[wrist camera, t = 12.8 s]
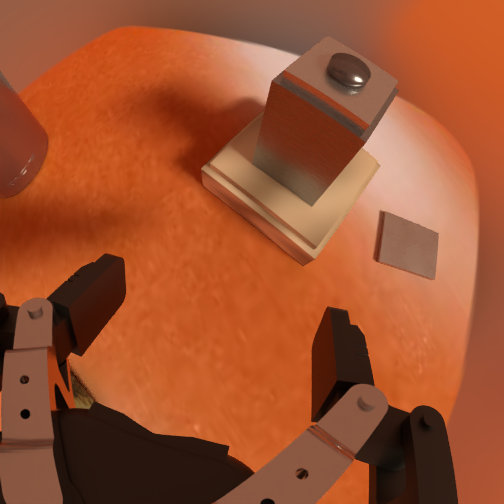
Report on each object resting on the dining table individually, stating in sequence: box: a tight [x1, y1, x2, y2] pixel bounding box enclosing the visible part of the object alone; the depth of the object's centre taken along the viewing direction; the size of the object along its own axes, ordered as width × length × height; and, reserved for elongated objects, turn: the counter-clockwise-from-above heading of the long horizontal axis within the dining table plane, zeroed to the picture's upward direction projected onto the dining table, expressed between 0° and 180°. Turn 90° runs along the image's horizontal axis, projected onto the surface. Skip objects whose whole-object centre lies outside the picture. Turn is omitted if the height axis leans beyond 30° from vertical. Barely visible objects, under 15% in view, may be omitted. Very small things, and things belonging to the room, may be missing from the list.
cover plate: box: [377, 211, 439, 280], centre depth 27 cm, size 7×5×1 cm
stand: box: [201, 109, 380, 266], centre depth 25 cm, size 11×11×4 cm
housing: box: [252, 36, 399, 207], centre depth 17 cm, size 6×6×11 cm
